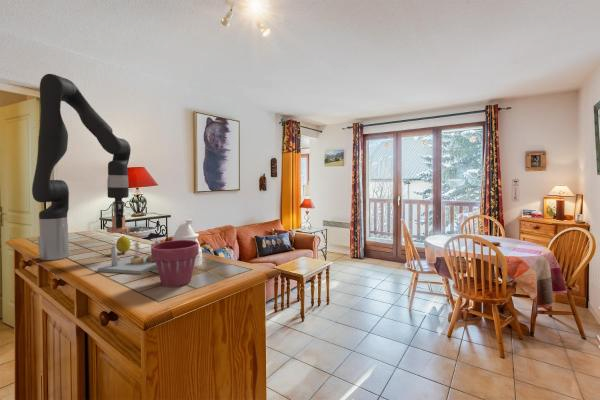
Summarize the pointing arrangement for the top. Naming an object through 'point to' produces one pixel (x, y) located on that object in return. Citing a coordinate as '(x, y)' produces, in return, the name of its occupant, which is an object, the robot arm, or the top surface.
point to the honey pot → (188, 238)
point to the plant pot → (175, 261)
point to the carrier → (130, 263)
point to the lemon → (123, 244)
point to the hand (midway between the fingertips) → (118, 226)
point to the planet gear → (118, 230)
